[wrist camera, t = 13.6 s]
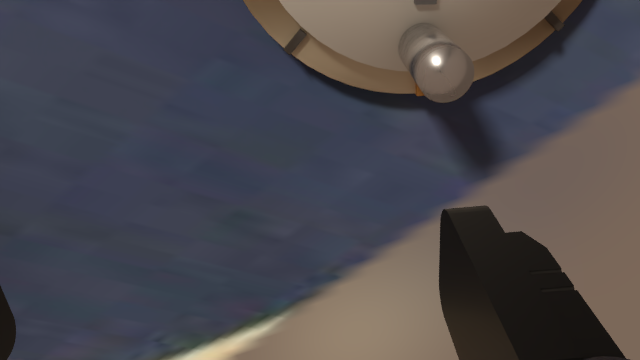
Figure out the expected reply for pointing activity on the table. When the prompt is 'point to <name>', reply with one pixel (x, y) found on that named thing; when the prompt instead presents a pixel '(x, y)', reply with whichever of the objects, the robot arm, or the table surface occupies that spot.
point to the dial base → (361, 75)
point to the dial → (420, 34)
